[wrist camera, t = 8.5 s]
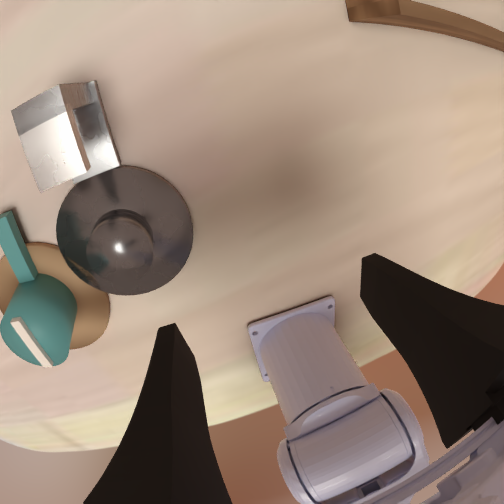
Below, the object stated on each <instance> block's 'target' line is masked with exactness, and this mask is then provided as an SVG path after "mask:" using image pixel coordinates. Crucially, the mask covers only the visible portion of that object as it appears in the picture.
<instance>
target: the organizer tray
mask: <svg viewBox="0 0 504 504" xmlns="http://www.w3.org/2000/svg"><path fill="white" fill-rule="evenodd" d="M346 5H347V10H348V16H349V21H350V22H364V23H376V24H385V25H394V26H401V27H408V28H414V29H420V30H426V31H431V32H436V33H440V34H445V35H449V36H453V37H457V38H461V39H465V40H468V41H472V42H475V43H479V44H482V45H485V46H488V47H491V48H494V49H497V50H500V51H503V52H504V32H502V31H500V30H497V29H495V28H493V27H491V26H488V25H486V24H483V23H481V22H478V21H476V20H473V19H470V18H468V17H465V16H462V15H459V14H456V13H453V12H450V11H447V10H444V9H440V8H437V7H434V6H430V5H426V4H422V3H418V2H414V1H411V0H346Z"/></svg>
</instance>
